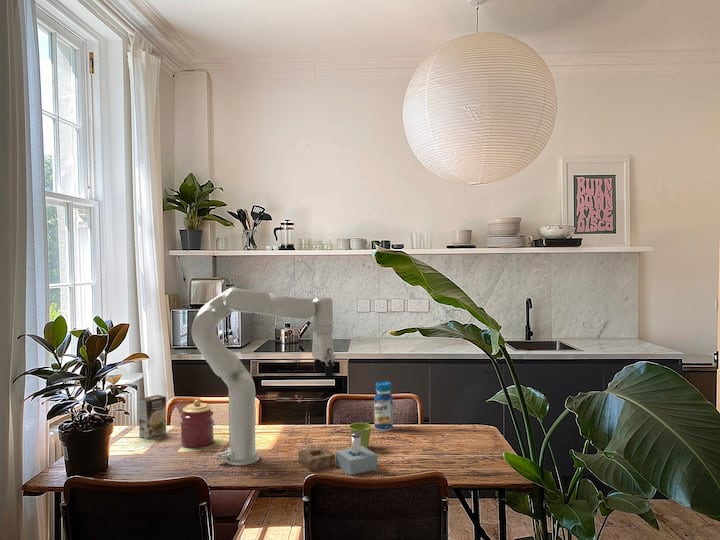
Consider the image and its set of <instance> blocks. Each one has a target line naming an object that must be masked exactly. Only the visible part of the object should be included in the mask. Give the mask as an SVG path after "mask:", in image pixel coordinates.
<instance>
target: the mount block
mask: <svg viewBox="0 0 720 540" xmlns="http://www.w3.org/2000/svg"><path fill="white" fill-rule="evenodd" d="M298 464H300V465H301V466H302V467H304V468H305V467H306V468H305V469H307V470H308V471H309V472H313V471H317V470H321V469H326V468H330V467H335V466H336V453H334V452H332V451H330V450H329V449H328V448H326V447H325V446H319V447H318V446H317V447H312V448H308V449H302V450H298Z"/></svg>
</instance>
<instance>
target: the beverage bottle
mask: <svg viewBox="0 0 720 540" xmlns="http://www.w3.org/2000/svg"><path fill="white" fill-rule="evenodd" d="M391 390H392V383H391V382H390V381H377V382H376V383H375V391H376V393H375V394H374V399H373V400H374V402H373V407H374V408H373V409H374V412H373V413H374V429H375V430H377V431H381V432H385V431H391V430H393V428H394V402H393V399H394V398H393V397H394V396H393V395H392V393H391Z"/></svg>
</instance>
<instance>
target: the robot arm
mask: <svg viewBox="0 0 720 540" xmlns="http://www.w3.org/2000/svg"><path fill="white" fill-rule="evenodd" d="M333 308H334V303H333V299H332V298H330V297H315V298H314V297H313V298H312V297H290V296H284V295H280V294H276V293H274V292H270V291H260V290H252V289H246V288H239V287H235V286H234V287H229V288H227V289H226V290H225V291H223V292H222V293H220V294H219V295H217V296H216V297H214V298H213V299H211V300H210V301H208V302H207V303H205V304H204V305H203V306H201V307H200V308H199V309H198V311H197V313H196V316H195V317H194V320H193V322H192V324H191V331H190V332H191V333H190V334H191V338H192V339H191V340H192V341H193V343H194V345H195V347H196V348H197V350H198V351H199V353H200V355H201V356H202V357H203V358H204V360H205V361H206V362H207V364H208V365H209V367H210V369H211V370H212V371H213V373H214V374H215V375H216V376H218V377H219V378H221V380H222V381H223V383H224V384H225V385H226V386H227V388H228V436H229V437H228V438H229V439H228V440H229V442H228V443H229V444H228V445H229V447H226V450H224V451H220V452H216V453H215V454H216V459H222V460H225V461H224V462H225V463H226V464H228V465H230V466H238V467H240V466H249V465H252V464H255V463H256V462H258V461H259V460H260V457H261V455H260V453H259V452H257V451H256V386H255V385H256V384H255V382H254V380H253V377H252V375H251V373H250V372H249V371H248V370H247V368H246V367H245V365H244V364H243V362H242V361H241V360H240V358H239V357H238V356H237V355H236V353H235V351H232V350H231V349H229V348H227V347H226V345H225V344H224V342H223V341H222V339H221V338H220V337H219V335H218V333H217V327H218V326H219V323H220V322H221V321H222V320H224V319H226V318H227V317H228V316H230V315H231V314H232V313H233V312H240V313H248V314H249V313H250V314H258V315H265V316H271V317H275V316H276V317H283V318H290V319H301V320H308V319H310V318H312V317H313V319H312V321H313V323H312V325H313V332H312V333H313V336H312V345H311V346H312V350H311V353H312V354H311V356H312V357H313V371H314V373H317V372H319V373H321V372H322V371H323V361H324V362H325V366H324V376H325V377H333V376H334V366H335V360H336V359H335V358H336V355H335V352H334V338H333V334H334V309H333Z"/></svg>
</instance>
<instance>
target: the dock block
mask: <svg viewBox="0 0 720 540" xmlns="http://www.w3.org/2000/svg"><path fill="white" fill-rule="evenodd" d="M378 462H379V461H378V454H377V453H375V452H373V451H372V450H370V449H369V448H368V449H367V448H365V447H363V446H361V455H358V456H352V447H349V448H344V449H339V450H335V466H337V467H338V468H340V469H341V470H343V471H344V472H345V473H347V474H348V475H349V476H353V475H357V474H361V473H366V472H369V471H374V470H378V465H379V463H378Z"/></svg>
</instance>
